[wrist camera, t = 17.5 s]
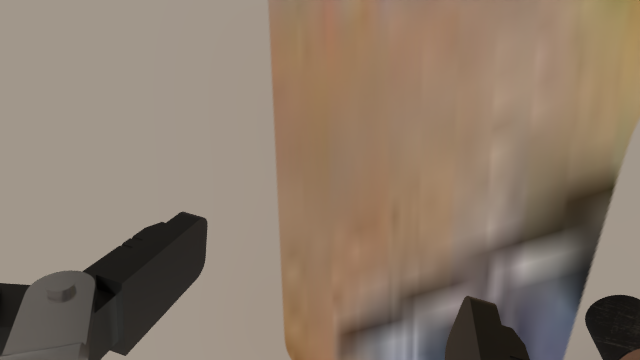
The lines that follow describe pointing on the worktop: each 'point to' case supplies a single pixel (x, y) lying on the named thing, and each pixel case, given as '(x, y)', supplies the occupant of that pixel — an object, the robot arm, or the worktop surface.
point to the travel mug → (615, 327)
